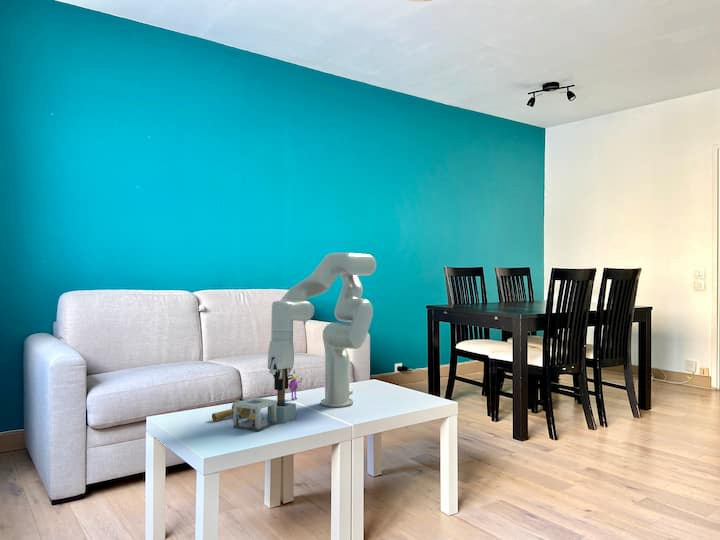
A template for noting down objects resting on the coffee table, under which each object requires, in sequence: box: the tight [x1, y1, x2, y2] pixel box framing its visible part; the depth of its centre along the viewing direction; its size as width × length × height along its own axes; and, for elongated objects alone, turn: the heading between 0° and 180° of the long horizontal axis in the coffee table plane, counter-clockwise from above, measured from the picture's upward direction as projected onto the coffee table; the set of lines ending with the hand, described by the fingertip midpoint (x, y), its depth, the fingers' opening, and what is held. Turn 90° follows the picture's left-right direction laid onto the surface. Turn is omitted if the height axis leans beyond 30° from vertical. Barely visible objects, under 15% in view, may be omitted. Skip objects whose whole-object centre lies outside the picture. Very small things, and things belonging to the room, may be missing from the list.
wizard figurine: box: [288, 369, 303, 401], centre depth 215 cm, size 11×3×12 cm, turn 151°
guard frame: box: [232, 396, 277, 433], centre depth 177 cm, size 10×10×8 cm
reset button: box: [248, 414, 255, 422], centre depth 177 cm, size 4×4×2 cm
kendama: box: [211, 399, 257, 423], centre depth 188 cm, size 8×6×18 cm
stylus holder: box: [266, 402, 297, 424], centre depth 185 cm, size 7×7×5 cm
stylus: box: [276, 369, 286, 406], centre depth 185 cm, size 3×3×15 cm
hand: (281, 388), depth 185 cm, fingers closed on stylus, 2 cm apart
